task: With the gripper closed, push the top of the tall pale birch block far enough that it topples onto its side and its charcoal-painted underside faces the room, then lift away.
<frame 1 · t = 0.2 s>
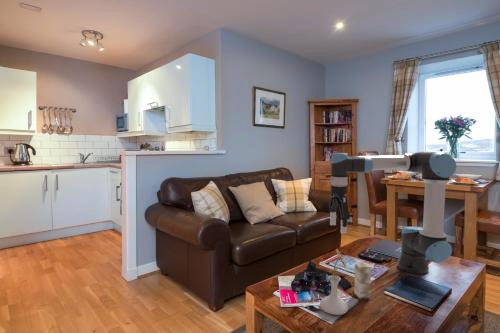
hand: (338, 228, 139), 28 cm above the table, tool pointing down, fingers open, 13 cm apart
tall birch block: (362, 296, 130), on the table
flower in vase: (334, 309, 121), on the table
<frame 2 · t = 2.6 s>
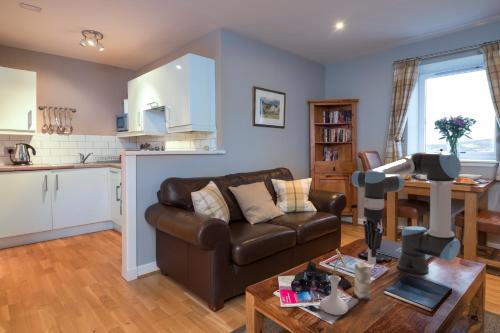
hand: (371, 263, 120), 19 cm above the table, tool pointing down, fingers closed
nothing on the table moved.
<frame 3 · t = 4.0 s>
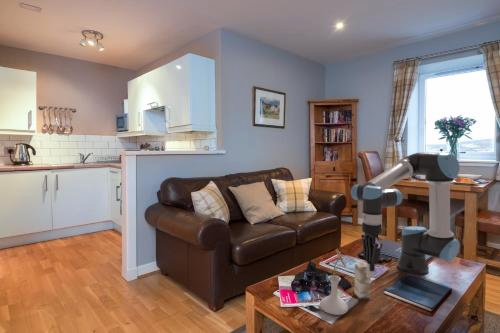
hand: (370, 277, 122), 12 cm above the table, tool pointing down, fingers closed
nothing on the table moved.
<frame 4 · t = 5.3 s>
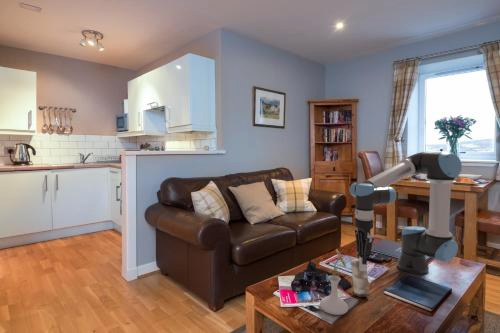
hand: (362, 270, 129), 12 cm above the table, tool pointing down, fingers closed
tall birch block: (361, 295, 130), point 1 cm above the table, tilted 17°
everything else where it was.
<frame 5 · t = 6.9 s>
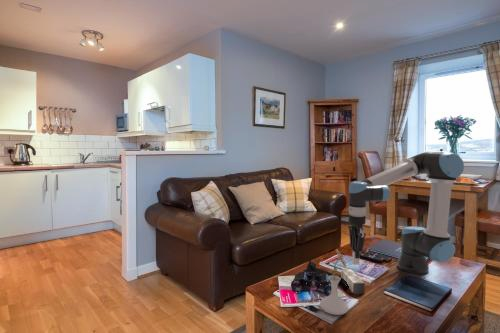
hand: (355, 263, 136), 12 cm above the table, tool pointing down, fingers closed
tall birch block: (359, 288, 132), point 2 cm above the table, tilted 90°
everything else where it was.
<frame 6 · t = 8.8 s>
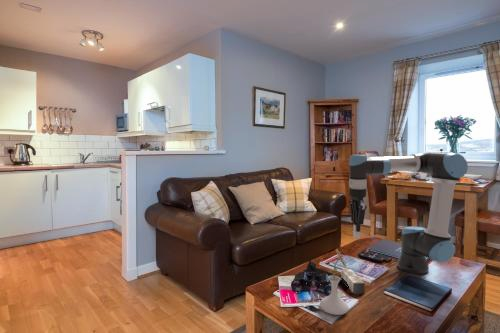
hand: (356, 237, 135), 25 cm above the table, tool pointing down, fingers closed
nothing on the table moved.
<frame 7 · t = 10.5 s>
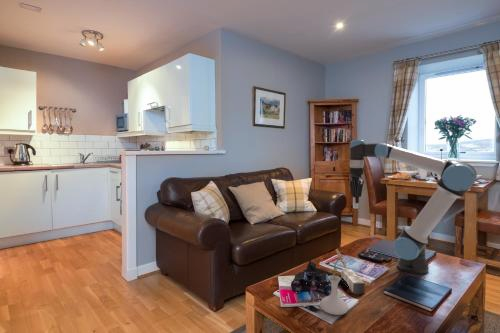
hand: (355, 208, 165), 32 cm above the table, tool pointing down, fingers closed
nothing on the table moved.
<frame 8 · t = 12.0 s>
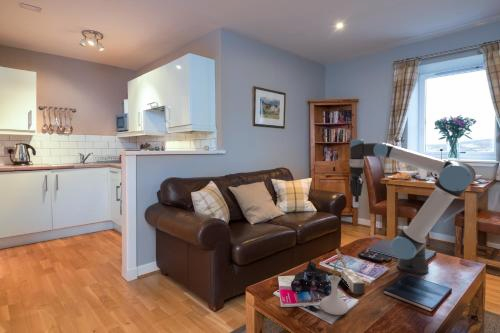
hand: (355, 207, 166), 32 cm above the table, tool pointing down, fingers closed
nothing on the table moved.
at the end: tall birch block tilted 90°; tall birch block inside the target area (0.4 cm from its centre), point 2.4 cm above the table; the gripper is holding nothing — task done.
